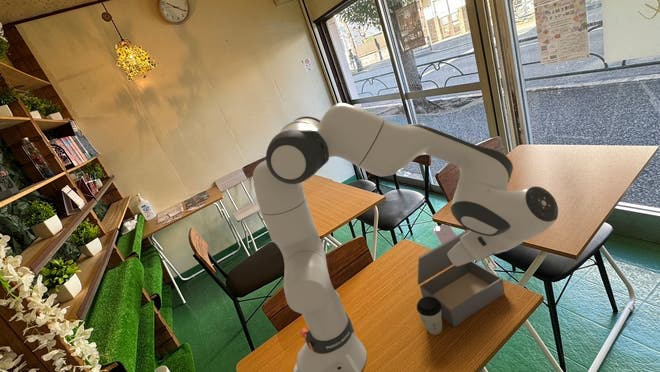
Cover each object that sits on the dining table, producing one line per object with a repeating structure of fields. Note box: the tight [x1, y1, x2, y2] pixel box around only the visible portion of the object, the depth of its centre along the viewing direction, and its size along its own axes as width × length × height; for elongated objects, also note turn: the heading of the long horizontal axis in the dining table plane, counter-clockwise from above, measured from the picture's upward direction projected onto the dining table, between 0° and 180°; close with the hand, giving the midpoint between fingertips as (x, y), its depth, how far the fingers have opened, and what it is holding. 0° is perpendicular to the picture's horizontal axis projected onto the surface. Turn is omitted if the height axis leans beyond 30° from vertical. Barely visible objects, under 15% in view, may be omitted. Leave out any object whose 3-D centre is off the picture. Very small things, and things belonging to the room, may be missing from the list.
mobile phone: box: [432, 224, 458, 245], centre depth 131 cm, size 8×1×15 cm
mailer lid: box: [417, 229, 470, 285], centre depth 99 cm, size 20×14×1 cm
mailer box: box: [419, 261, 506, 328], centre depth 98 cm, size 20×14×6 cm
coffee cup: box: [416, 297, 443, 336], centre depth 90 cm, size 7×7×10 cm
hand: (471, 248), depth 83 cm, fingers closed
